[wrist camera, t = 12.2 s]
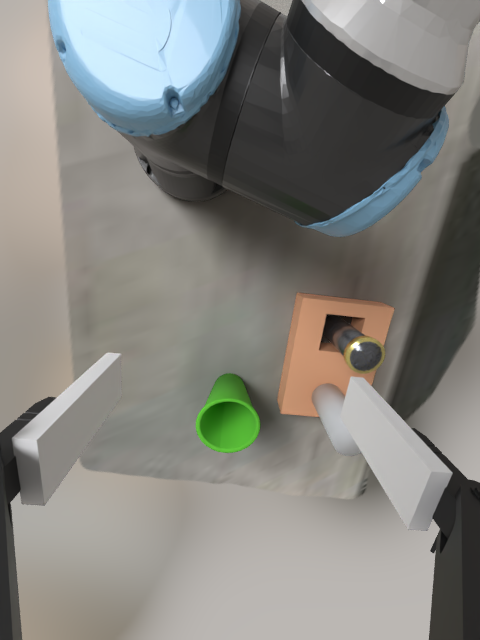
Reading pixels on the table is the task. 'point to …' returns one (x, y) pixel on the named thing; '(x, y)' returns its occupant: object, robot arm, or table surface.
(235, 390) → the cup
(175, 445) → the table surface
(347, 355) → the pin
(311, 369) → the peach square-hole plate
